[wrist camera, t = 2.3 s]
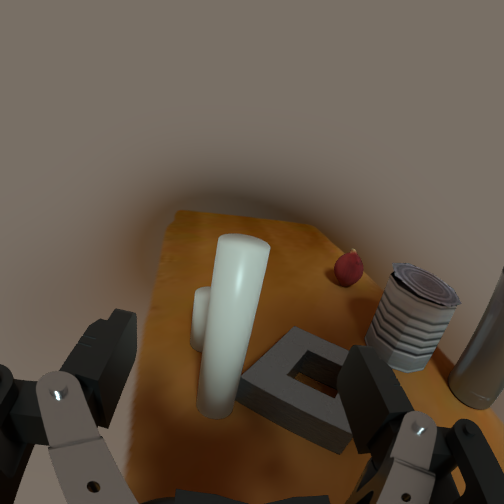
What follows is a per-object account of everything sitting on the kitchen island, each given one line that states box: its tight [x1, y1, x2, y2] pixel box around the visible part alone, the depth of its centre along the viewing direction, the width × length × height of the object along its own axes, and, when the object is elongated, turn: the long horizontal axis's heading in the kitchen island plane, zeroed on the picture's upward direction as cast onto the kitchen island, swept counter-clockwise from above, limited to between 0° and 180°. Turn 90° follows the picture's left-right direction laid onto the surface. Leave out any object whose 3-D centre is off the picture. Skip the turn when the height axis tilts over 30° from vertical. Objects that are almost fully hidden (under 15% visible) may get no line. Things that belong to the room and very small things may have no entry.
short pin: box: [190, 287, 211, 352], centre depth 35 cm, size 4×4×7 cm
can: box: [364, 263, 461, 373], centre depth 39 cm, size 11×11×12 cm
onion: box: [334, 249, 363, 286], centre depth 58 cm, size 6×6×8 cm
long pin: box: [196, 234, 270, 419], centre depth 24 cm, size 4×4×17 cm
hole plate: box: [235, 326, 353, 455], centre depth 30 cm, size 12×12×4 cm
